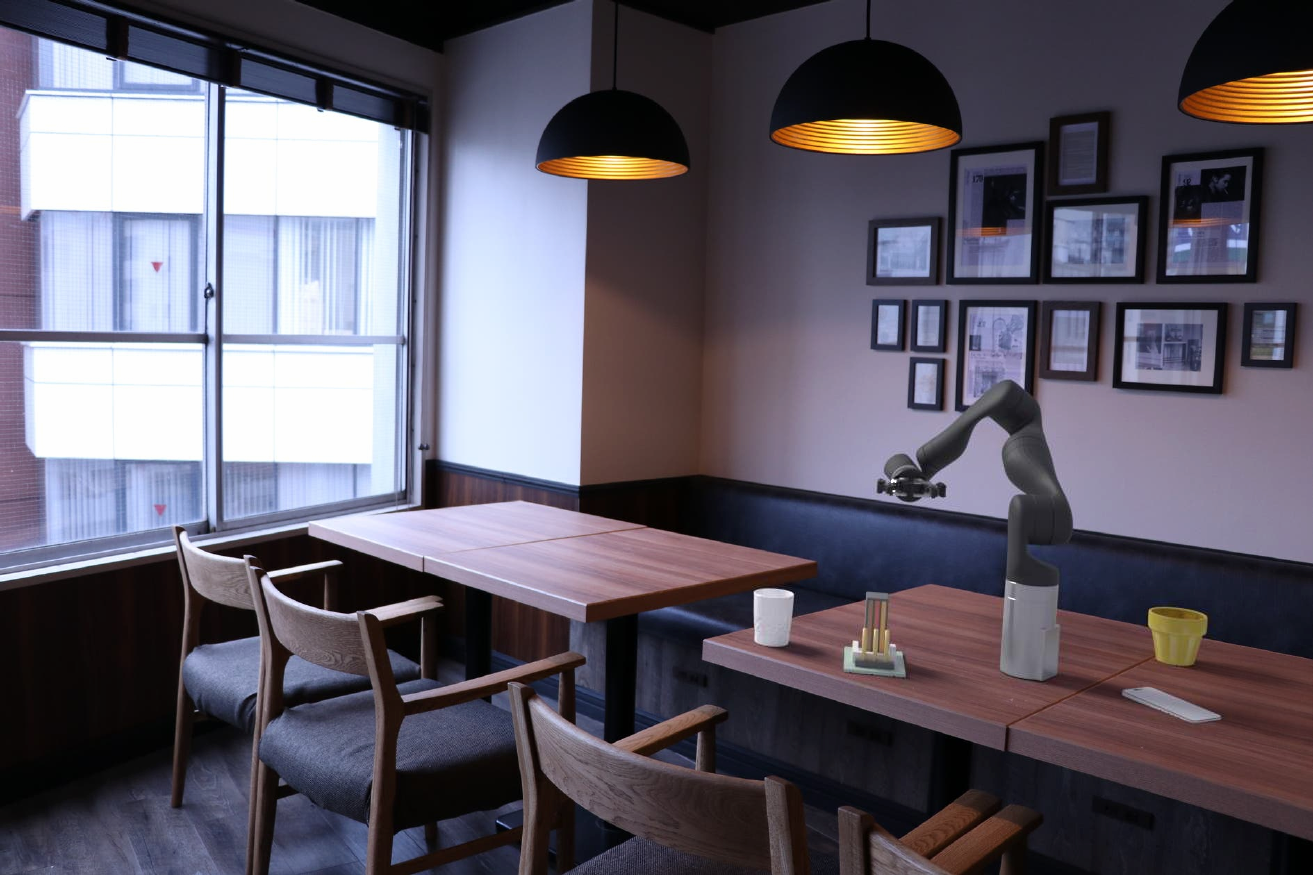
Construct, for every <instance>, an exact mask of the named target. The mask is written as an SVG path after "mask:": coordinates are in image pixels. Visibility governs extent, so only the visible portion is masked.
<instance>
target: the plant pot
mask: <svg viewBox="0 0 1313 875" xmlns="http://www.w3.org/2000/svg"><path fill="white" fill-rule="evenodd" d="M1147 618H1148V619H1147V620H1148V621H1147V624H1148V627H1149V628H1150V629H1151V633H1152V634H1151V635H1152V638H1153V645H1154V651H1155V652H1154V653H1155V658H1156V660H1157V661H1158V662H1160V663H1162V664H1165V665H1170V666H1176V665H1177V667H1191V666H1192V665H1194V664H1195V661H1196V657H1197V655H1198V650H1199V648H1200V645H1201V642H1202V638H1203V636H1205V635H1206V634H1207V629H1208V619H1209V618H1208V615H1207V614H1204V613H1202V612H1199V611H1196V610H1192V609H1188V608H1186V609H1185V608H1180V607H1171V606H1161V607H1160V606H1157V607H1152V608H1149V609H1148V616H1147ZM1190 665H1191V666H1190Z"/></svg>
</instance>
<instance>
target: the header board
mask: <svg viewBox="0 0 1313 875" xmlns="http://www.w3.org/2000/svg"><path fill="white" fill-rule="evenodd" d="M867 630H868V629H867V628H864V627H863V628H862V643H861V644H862V645H861V647H859V641H858V640H853V641H852V646H844V653H843V655H844V656H843V673H850V672H851V673H852V674H853V673H854V674H863V675H871V674H873V675H874V676H883V677H893V676H895V677H896V678H903V677H904V679H905V678H906V677H907V676H906V675H907V674H906V668H905V662H904V657H903V656H904V655H903V651H897V647H896V644H895V643H890V637H891V635H890V634H891V632H890V630H889V629H887V630H885V646H884V653H877V650H878V633H879V630H878V629H874V642H873V652H866V648H867ZM851 673H850V674H851ZM873 675H872V676H873ZM895 677H894V678H895Z"/></svg>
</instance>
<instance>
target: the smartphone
mask: <svg viewBox="0 0 1313 875" xmlns="http://www.w3.org/2000/svg"><path fill="white" fill-rule="evenodd" d="M1121 692H1122V693H1121V696H1123V697H1125V698H1128V699H1130V700H1133V701H1135V702H1138V703H1140V704H1143V705H1145V706H1147V707H1150V708H1153V709H1155V710H1158V711H1160V710H1161V712H1163V713H1166V714H1168V713H1169V714H1168V715H1170V716H1173V715H1174V716H1173V717H1175V718H1178V717H1179V719H1181V720H1182V721H1186V722H1187V723H1193V724H1194V723H1195V724H1197V723H1198V724H1200V723H1206V722H1207V723H1208V722H1213V721H1220V720H1222V715H1220V714H1219V713H1215V712H1213V711H1211V710H1209V709H1206V708H1203V707H1202V706H1198V705H1196V704H1194V703H1191V702H1188V701H1185V700H1184V699H1181V698H1180V697H1179V698H1178V697H1176V696H1174V695H1171V694H1169V693H1167V692H1164V691H1161V690H1159V689H1157V688H1154V687H1150V686H1143V687H1135V688H1126V689H1122V691H1121Z"/></svg>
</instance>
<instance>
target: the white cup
mask: <svg viewBox="0 0 1313 875" xmlns="http://www.w3.org/2000/svg"><path fill="white" fill-rule="evenodd" d="M794 597H795V594H794V593H793V592H792V591H789V590H786V589H778V588H759V589H756V590H754V591H753V625H754V626H753V627H754V642H755V643H756V644H758V645H761V646H764V647H772V648H775V647H776V648H777V647H785V646H787V645H788V644H789V641H790V632H791V627H792V626H791V625H792V619H793V610H794V608H793V607H794V599H795V598H794Z"/></svg>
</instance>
